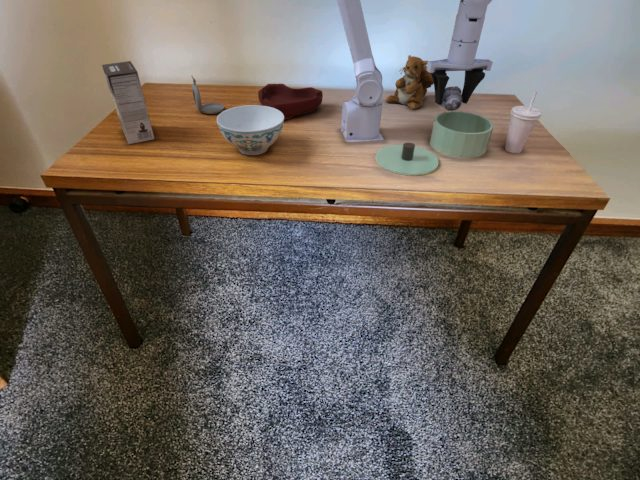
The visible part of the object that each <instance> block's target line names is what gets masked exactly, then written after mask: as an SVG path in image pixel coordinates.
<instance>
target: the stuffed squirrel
mask: <svg viewBox="0 0 640 480" xmlns="http://www.w3.org/2000/svg"><path fill="white" fill-rule="evenodd" d="M428 61H429V60H423V59H422V58H420V57H418V56H412V55H411V54H409V55H407V60H406V63H405V65H404V67H403V66H402V68H401V69H399V72H400V75H402V74H403V73H404V75H403V76H402V77H400V78H399V79H397V80H396V81H395V88H396V89H395V90H394V94H393V95H388V96H387V97H386V98H385V101H386V102H387V103H390V104H391V103H392V104H393V103H399V104H400V105H401V104H402V105H404V106H407V107H408V108H409V109H410V110H413V111H414V110H417V109H419V108H420V107H421V106H422V104H423V100H424V98H426V95H427V93H428V89H430V88H432V86H434V83H433V79H432V75H431V73H429V72H428V71H427V70H426V69H427V63H428Z"/></svg>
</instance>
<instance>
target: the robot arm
mask: <svg viewBox="0 0 640 480" xmlns="http://www.w3.org/2000/svg"><path fill="white" fill-rule="evenodd" d="M336 2H337V6H338V9H339V13H340V18H341V21H342V26H343V29H344V32H345V33H344V34H345V37H346V41H347V44H348V49H349V52H350V56H351V60H352V64H353V70H354V77H355V83H356V85H355V91H354V92H355V93H354V95H353V96H352V99H350V100H347V101H343V103H342V107H341V123H340V125H341V126H340V131H341V133H342V135H343V137H344V139H345V141H346V142H348V143H349V142H350V143H351V142H353V143H354V142H369V141H370V142H371V141H384V140H385V138H384V137H383V135H382V134H381V132H380V129H381V120H382V112H383V106H384V105H383V103H384V98H383V95H384V85H383V74H382V72H381V70H379V68H378V67H377V66H376V62H375V58H374V55H373V51H372V47H371V42H370V39H369V33H368V28H367V25H366V20H365V16H364V11H363V7H362V2H361V0H336ZM491 2H493V0H459V5H458V10H457V13H456V16H455V21H454V26H453V31H452V35H451V41H450V46H449V49H448V55H447V58H443V59H437V60H427V61H428V63H427V69H426V70H427V71H428V72H429V73H431V75H432V79H433V83H434V84H433V88H434V103H435V104H436V105H438V106H441V104H442V100H443V95H444V91H445V88H447V85H448V82H449V80H450V76H448V75H447V74H448V73H447V72H464V80H463V88H462V90H461V96H462V103H463V104H464V105H466V104H468V102H469V100H470V98H471V97H472V95H473V93H474V92H475V90H476V89H477V87H478V85H479V84H480V83H481V82H482V81H483V80H484V79H485V77H486V72H490V71H491V70H492V66H493V62H494V61H492V60H490V59H484V58H481V59H480V58H476V57H477V51H478V48H479V43H480V40H481V35H482V32H483V27H484V23H485V20H486V13H487V10H488V5H489V4H491ZM484 71H486V72H484Z"/></svg>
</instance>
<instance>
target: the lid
mask: <svg viewBox="0 0 640 480" xmlns="http://www.w3.org/2000/svg"><path fill="white" fill-rule="evenodd" d="M375 161H376V163H377V165H379V166H380V167H381V168H382V169H384V170H385V171H388V172H390V173H393V174H395V175H396V174H397V175H402V176H409V177H410V176H411V177H415V176H416V177H417V176H424V175H428V174H430V173H433V172H435V171H436V170H437V169H438V167H439V162H440V161H439V158H438V156H436V154H434V153H433V152H432V151H430V150H428V149H426V148H424V147H420V146H417V145H416V144H414V143H412V142H404V143H403V144H391V145H386V146H384V147H381V148H379V149H378V151H377V152H376V154H375Z"/></svg>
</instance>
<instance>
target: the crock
mask: <svg viewBox="0 0 640 480" xmlns="http://www.w3.org/2000/svg"><path fill="white" fill-rule="evenodd" d="M493 130H494V124H493V121H491V120H490V119H489V118H487V117H485V116H483V115H480V114H476V113H473V112H468V111H461V110H459V111H458V110H453V111H443V112H440V113H438V114H436V115H435V116H434V119H433V124H432V129H431V134H430V138H429V145H430V146H431V147H432V149H434V150H435V151H436V152H438V153H440V154H443V155H447V156H448V157H453V158H454V157H455V158H458V159H459V158H460V159H472V158H479V157H481V156H484V155H485V153H486V152H487V150H488V147H489V144H490V140H491V137H492V133H493Z"/></svg>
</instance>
